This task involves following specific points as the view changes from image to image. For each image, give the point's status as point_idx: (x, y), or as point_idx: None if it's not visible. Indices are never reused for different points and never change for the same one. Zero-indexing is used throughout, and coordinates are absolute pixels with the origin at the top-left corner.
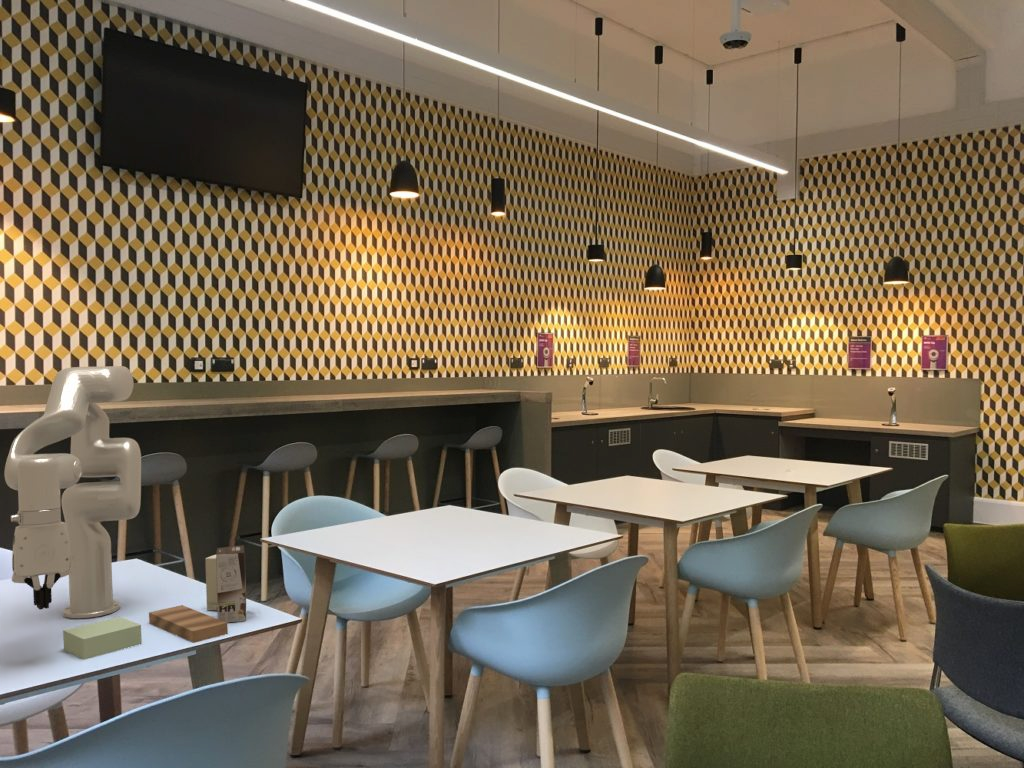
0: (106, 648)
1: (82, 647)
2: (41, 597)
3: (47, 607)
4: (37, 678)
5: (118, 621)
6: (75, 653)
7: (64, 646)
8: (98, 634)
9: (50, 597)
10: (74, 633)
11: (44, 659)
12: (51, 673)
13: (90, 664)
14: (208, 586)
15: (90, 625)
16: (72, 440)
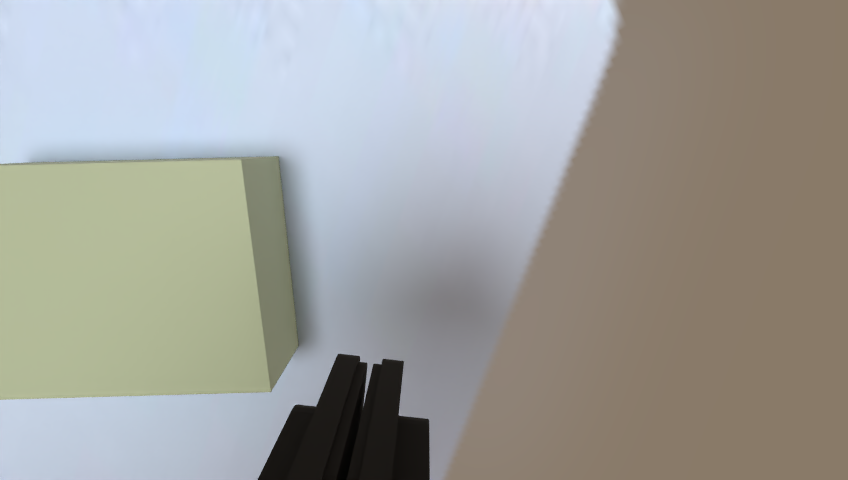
0: (171, 159)
1: (261, 174)
2: (383, 425)
3: (349, 356)
4: (496, 62)
5: (16, 326)
6: (285, 243)
7: (293, 346)
8: (156, 181)
9: (290, 434)
10: (246, 299)
11: (390, 286)
12: (435, 80)
13: (281, 61)
14: None
15: (148, 369)
16: None
